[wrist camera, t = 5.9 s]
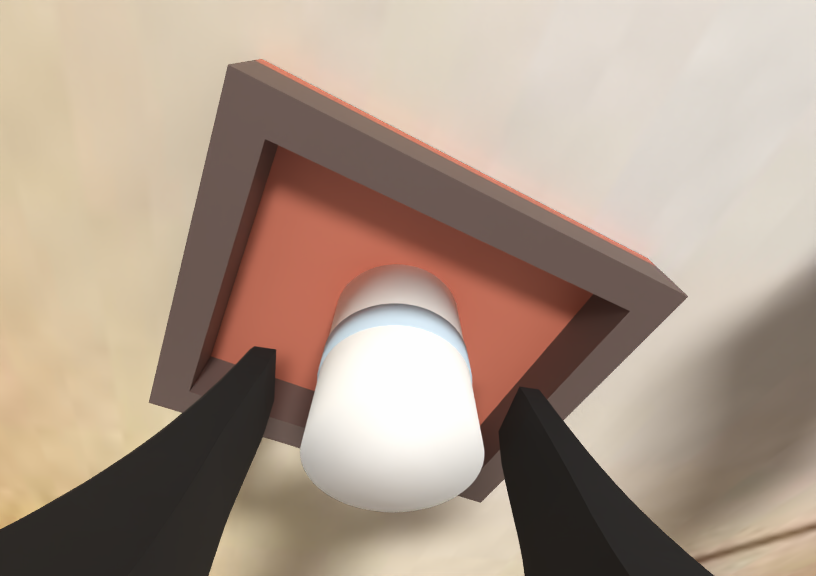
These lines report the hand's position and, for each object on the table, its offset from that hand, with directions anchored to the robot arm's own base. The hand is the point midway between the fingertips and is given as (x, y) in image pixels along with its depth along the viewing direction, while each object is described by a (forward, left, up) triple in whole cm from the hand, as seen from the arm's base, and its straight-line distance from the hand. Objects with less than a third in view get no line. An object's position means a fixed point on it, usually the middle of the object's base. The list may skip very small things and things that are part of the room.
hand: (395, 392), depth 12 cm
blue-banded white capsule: (0, 0, -4) cm, 4 cm away
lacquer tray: (0, 0, -4) cm, 4 cm away
